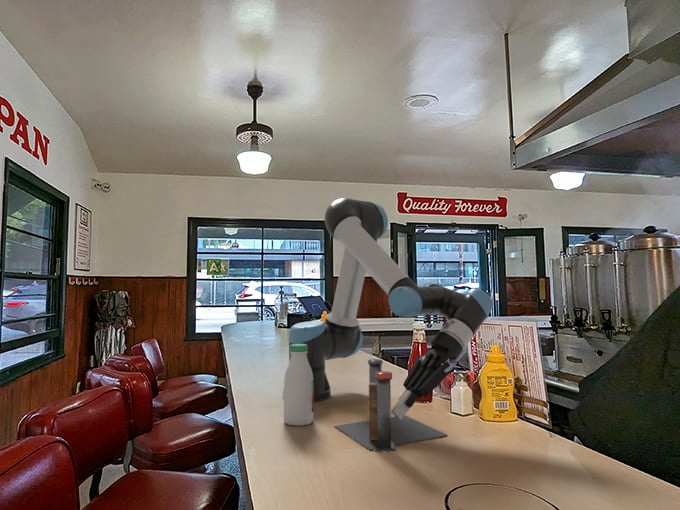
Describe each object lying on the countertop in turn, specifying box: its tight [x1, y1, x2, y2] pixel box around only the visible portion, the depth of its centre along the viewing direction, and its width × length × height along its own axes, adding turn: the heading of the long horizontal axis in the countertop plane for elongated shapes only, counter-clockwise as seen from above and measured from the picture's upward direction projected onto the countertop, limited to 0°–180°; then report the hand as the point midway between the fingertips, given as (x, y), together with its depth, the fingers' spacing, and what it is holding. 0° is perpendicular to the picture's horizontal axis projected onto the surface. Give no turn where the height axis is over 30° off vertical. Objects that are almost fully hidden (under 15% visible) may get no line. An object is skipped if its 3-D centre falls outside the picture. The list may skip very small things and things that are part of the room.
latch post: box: [373, 370, 397, 453], centre depth 99 cm, size 4×4×16 cm
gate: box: [368, 383, 377, 440], centre depth 108 cm, size 14×2×12 cm, turn 175°
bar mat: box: [334, 414, 448, 451], centre depth 110 cm, size 18×21×1 cm
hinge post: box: [366, 358, 384, 423], centre depth 118 cm, size 4×4×16 cm
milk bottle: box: [283, 344, 315, 427], centre depth 118 cm, size 8×8×20 cm
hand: (395, 415), depth 106 cm, fingers closed
